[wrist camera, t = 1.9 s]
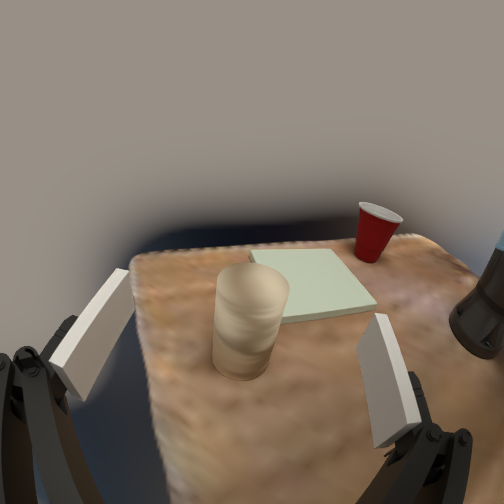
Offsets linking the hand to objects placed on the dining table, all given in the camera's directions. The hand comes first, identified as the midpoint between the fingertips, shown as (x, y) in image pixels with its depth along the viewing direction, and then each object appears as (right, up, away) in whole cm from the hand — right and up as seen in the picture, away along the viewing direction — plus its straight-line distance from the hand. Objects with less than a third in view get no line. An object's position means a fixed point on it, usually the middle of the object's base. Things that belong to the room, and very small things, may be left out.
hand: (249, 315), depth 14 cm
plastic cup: (+27, +2, +47) cm, 54 cm away
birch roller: (-1, -10, +19) cm, 21 cm away
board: (+11, -2, +34) cm, 36 cm away
